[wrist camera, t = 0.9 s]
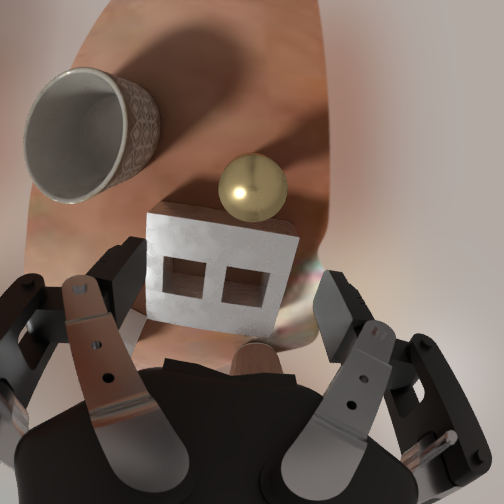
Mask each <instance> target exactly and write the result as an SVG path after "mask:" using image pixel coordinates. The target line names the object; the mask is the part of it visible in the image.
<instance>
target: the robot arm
mask: <svg viewBox="0 0 504 504" xmlns="http://www.w3.org/2000/svg"><path fill="white" fill-rule="evenodd" d="M146 273H147V240H146V239H144V238H138V237H132V236H130V237H129V238H128V239H127V240H126V241H125V242H124V243H123V244H122V245H116V246H114V247H112V248H110V249H109V250H108V251H107V252H106V253H105V254H104V255H103V256H102V257H101V258H100V259H99V261H97V262H96V264H95V265H94V266H93V267H92V268H91V269H90V270H89V271H88V272H87V274H86V275H76V276H73V277H70V278H68V279H67V280H66V281H65V282H64V283H63V285H62V287H45V282H44V279H43V277H42V276H41V275H39V274H35V273H30V274H25V275H23V276H21V277H19V278H18V279H17V280H16V281H15V282H14V283H13V284H12V285H11V286H10V287H9V288H8V289H7V290H6V291H5V292H4V294H3V295H2V296H1V297H0V463H2V464H4V465H5V466H7V467H8V468H10V469H12V470H13V471H15V476H16V481H17V487H18V496H19V504H432V503H434V502H436V501H438V500H440V499H442V498H444V497H446V496H448V495H449V494H452V493H454V492H455V491H457V490H459V489H461V488H463V487H464V486H466V485H467V484H469V483H471V482H472V481H474V480H476V479H477V478H479V477H480V476H482V475H483V474H485V473H486V472H487V471H488V470H489V469H490V467H491V463H492V455H491V452H490V449H489V446H488V444H487V441H486V439H485V436H484V434H483V432H482V430H481V427H480V425H479V423H478V420H477V418H476V416H475V414H474V412H473V410H472V408H471V406H470V404H469V402H468V400H467V398H466V396H465V394H464V392H463V390H462V388H461V386H460V384H459V382H458V380H457V379H456V377H455V375H454V373H453V371H452V370H451V368H450V366H449V364H448V363H447V361H446V359H445V358H444V356H443V354H442V352H441V351H440V349H439V347H438V346H437V344H436V343H435V342H434V341H433V340H432V339H431V338H430V337H428V336H426V335H424V334H419V333H418V334H414V335H413V337H412V338H411V340H410V341H409V342H406V341H403V340H399V339H396V335H395V333H394V331H393V330H392V329H391V327H389V326H388V325H387V324H385V323H383V322H380V321H377V320H375V319H374V318H373V316H372V314H371V312H370V310H369V309H368V307H367V305H365V302H364V300H363V299H362V297H361V295H360V293H359V292H358V290H357V289H355V288H354V287H353V286H352V285H351V284H349V283H348V282H347V279H346V278H345V276H344V274H343V273H342V272H338V271H331V270H326V271H325V272H324V273H323V276H322V279H321V281H320V284H319V287H318V289H317V292H316V295H315V297H314V301H313V312H314V315H315V318H316V321H317V324H318V327H319V330H320V333H321V336H322V339H323V342H324V346H325V349H326V352H327V355H328V359H329V362H330V363H341V367H340V368H339V370H338V371H337V373H336V375H335V376H334V378H333V380H332V382H331V383H330V385H329V386H328V388H327V389H326V391H325V393H324V394H323V396H322V395H320V394H319V393H317V392H315V391H313V390H312V389H309V388H307V387H304V386H302V385H298V384H297V383H296V378H295V375H294V374H278V373H265V372H264V373H255V374H245V375H227V374H224V373H221V372H218V371H215V370H213V369H210V368H207V367H204V366H202V365H199V364H195V363H189V362H184V361H178V360H173V359H168V358H165V361H164V364H163V367H154V368H147V369H142V370H139V371H137V370H136V368H135V366H134V364H133V362H132V359H131V357H130V355H129V353H128V351H127V349H126V347H125V344H124V342H123V340H122V337H121V335H120V333H119V329H120V327H121V325H122V323H123V321H124V320H125V318H126V316H127V314H128V312H129V310H130V308H131V306H132V304H133V302H134V301H135V299H136V297H137V295H138V293H139V291H140V290H141V288H142V286H143V284H144V282H145V279H146ZM25 325H26V327H27V332H26V333H25V335H24V336H23V338H22V339H21V341H20V343H19V344H18V337H19V334H20V332H21V331H22V329H23V328H24V326H25ZM58 343H69V344H70V349H71V353H72V357H73V361H74V365H75V369H76V372H77V376H78V380H79V383H80V386H81V390H82V392H83V396H84V399H85V400H84V401H82V402H80V403H78V404H77V405H75V406H73V407H71V408H69V409H68V410H66V411H64V412H62V413H60V414H58V415H57V416H55V417H53V418H51V419H49V420H47V421H45V422H43V423H41V424H40V425H38V426H36V427H34V428H32V429H30V430H29V428H28V426H29V416H28V413H27V410H26V408H27V406H28V404H29V401H30V399H31V397H32V394H33V392H34V390H35V388H36V386H37V384H38V381H39V379H40V377H41V375H42V373H43V371H44V369H45V367H46V365H47V363H48V361H49V359H50V358H51V356H52V354H53V352H54V350H55V348H56V346H57V345H58ZM418 379H420V381H421V383H422V385H423V387H424V390H425V394H424V398H423V400H422V401H421V402H420V403H419V401H418V398H417V396H416V393H415V391H414V389H413V385H414V384H415V383H416V382H417V380H418ZM383 396H384V399H385V401H386V405H387V408H388V411H389V414H390V417H391V420H392V424H393V427H394V430H395V434H396V437H397V440H398V444H399V447H400V451H401V455H402V457H401V460H400V461H399V460H398V459H397V458H395V457H394V456H393V455H392V454H390V453H389V452H388V451H386V450H385V449H384V448H383V447H382V446H380V445H379V444H378V443H377V442H375V441H374V440H373V439H372V438H371V437H369V436H368V434H369V431H370V429H371V426H372V424H373V421H374V419H375V416H376V414H377V411H378V409H379V406H380V403H381V401H382V398H383Z"/></svg>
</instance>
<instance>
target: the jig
mask: <svg viewBox="0 0 504 504" xmlns="http://www.w3.org/2000/svg"><path fill="white" fill-rule="evenodd" d="M299 238H300V237H299V235H298V233H297V231H296V229H295V227H294V225H293V223H292V222H289V221H283V220H278V219H273V218H269V219H267V220H264V221H260V222H246V221H242V220H239V219H237V218H235V217H234V216H232V215H231V214H230V213H229V212H228V211H226V210H220V209H213V208H207V207H201V206H194V205H187V204H180V203H173V202H166V201H160V202H159V203H158V204H156V205H155V206H154V207H153V208H152V209H151V210H150V211H149V212H147V226H146V240H147V273H146V312H147V319H151V320H155V321H160V322H165V323H171V324H176V325H181V326H187V327H193V328H199V329H205V330H211V331H218V332H225V333H232V334H239V335H247V336H256V337H265V338H270V337H271V334H272V331H273V328H274V325H275V322H276V318H277V315H278V312H279V308H280V305H281V302H282V298H283V295H284V292H285V288H286V285H287V281H288V278H289V274H290V271H291V267H292V264H293V260H294V257H295V253H296V250H297V246H298V242H299ZM173 257H174V258H180V259H186V260H192V261H198V262H204V263H206V271H205V277H200V276H194V275H188V274H182V273H176V272H172V261H173ZM227 266H229V267H235V268H241V269H248V270H254V271H261V272H263V273H262V278H261V282H260V286H258V285H251V284H244V283H238V282H231V281H225V274H226V268H227Z"/></svg>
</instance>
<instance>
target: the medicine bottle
mask: <svg viewBox="0 0 504 504" xmlns="http://www.w3.org/2000/svg"><path fill="white" fill-rule="evenodd" d="M146 320H147V316H145V315H143V314H141V313H139V312H137V311H135V310H133V309H132V308H130V310H129V312H128V314H127V316H126V318H125V320H124V321H123V323H122V325H121V327H120V329H119V333H120V335H121V337H122V340H123V342H124V344H125V347H126V349H127V351H128V353H129V355H130V357H131V355H132V353H133V350H134V348H135V345H136V343H137V341H138V338H139V336H140V334H141V331H142V329H143V327H144V324H145V322H146Z"/></svg>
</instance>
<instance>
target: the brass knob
mask: <svg viewBox="0 0 504 504" xmlns="http://www.w3.org/2000/svg"><path fill="white" fill-rule="evenodd" d="M218 189H219V197H220V200H221V203H222V205H223V206H224V208H225V209H226V210H227V211H228V212H229V213H230V214H231V215H232V216H234V217H235V218H237V219H239V220H242V221H246V222H260V221H264V220H267V219H269V218H271V217H272V216H274V215H275V214H276V213H277V212H278V211H279V210H280V209H281V208H282V206H283V205H284V203H285V201H286V197H287V193H288V185H287V180H286V177H285V174H284V173H283V171H282V169H281V168H280V167H279V166H278V165H277V164H276V163H275V162H274V161H273V160H272V159H270V158H269V157H267V156H265V155H263V154H259V153H245V154H242V155H239V156H237V157H236V158H234V159H233V160H232V161H231V162H230V163H229V164H228V165H227V166H226V168H225V170H224V172H223V173H222V175H221V178H220V181H219V188H218Z"/></svg>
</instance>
